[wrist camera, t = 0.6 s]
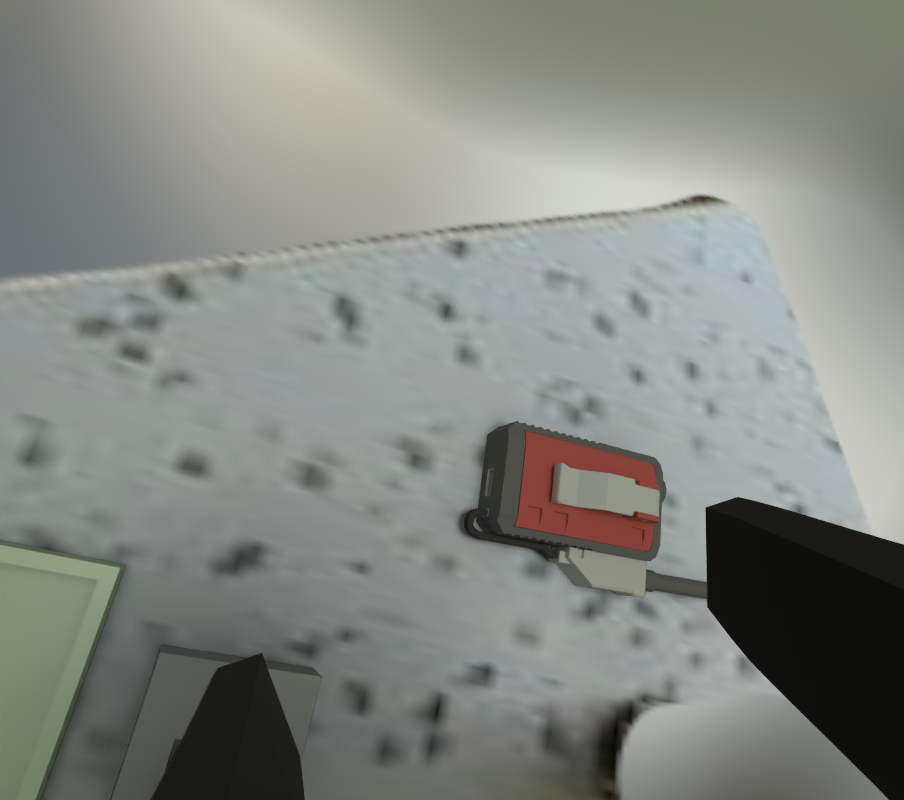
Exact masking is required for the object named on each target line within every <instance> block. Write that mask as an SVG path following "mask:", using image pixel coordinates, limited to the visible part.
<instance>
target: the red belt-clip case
mask: <svg viewBox="0 0 904 800" xmlns="http://www.w3.org/2000/svg"><path fill="white" fill-rule="evenodd" d="M665 495H666V486H665V482H664V481H663V472H662V469H661V465H660V463H659V462H658V461H657V459H656V458H655V457H651V456H647V455H643V454H640V453H636V452H632V451H628V450H624V449H621V448H617V447H613V446H609V445H606V444H602V443H598V444H597V443H595V442H594V441H591V442H589V441H588V440H587V439H584V440H582V439H581V438H579V437H577V438H574V437H573V436H572V435H570V436H566V434H564V433H562V434H559V433H558V432H556V431H555V432H551V431H550V430H549V429H547V430H544V429H543V428H541V427H539V428H536V427H535V426H534V425H531V426H529V425H527V424H526V423H522V424H521V423H519V422H518V421H516V422H513V423H510V424H507V425H504V426H501V427H498V428H497V429H495V430H494V431H492V432H491V433H490V434H488V435H487V442H486V450H485V458H484V466H483V473H482V481H481V489H480V497H479V505H478V509H473V510H470V511H469V512H468V513H467V514H466V517H465V519H464V522H463V524H464V529H465V530H466V532H467V533H468V534H469V535H470V536H472V537H474V538H476V539H481V540H487V541H492V542H498V543H504V544H510V545H515V546H521V547H526V548H531V549H535V550H538V551H540V552H541V553H542V554H543V555H544V556H546V557H548V558H549V560H548V561H550V562H555V563H556V564H557V565H558V566H559V568H560V569H561V570H562V571H563V572H564V573H565V575H566V576H567V577H568V578H569V579H570V580H571V582H572V583H574V584H575V585H579V586H585V587H591V588H597V589H603V590H609V591H614V592H615V593H616V594H618V595H626V596H634V597H641V598H643V597H644V596H645V591H648V592H652V591H654V590H657V591H663V592H669V593H675V594H681V595H687V596H694V597H700V598H706V599H707V582H701V581H695V580H689V579H683V578H677V577H672V576H666V575H660V574H656V573H655V572H653V571H652V570H646V561H651V560H652V559H654V558H655V557H656V556H657V553H658V550H659V547H660V540H661V509H662V502H663V500H664V498H665ZM476 516H477V521H476V522H477V523H478V525H479V526H480V528H481V529H482V531H483V532H484V533H483V532H480V531H478V530H477V529H476V528H475V527H474V525H473V522H474V519H475V517H476ZM546 545H547V546H554V547H551V550H550V549H549V548H548V547H547V546H546Z"/></svg>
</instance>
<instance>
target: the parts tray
mask: <svg viewBox="0 0 904 800" xmlns="http://www.w3.org/2000/svg"><path fill="white" fill-rule="evenodd" d="M125 566H126V565H124V564H119V563H114V562H109V561H104V560H99V559H93V558H88V557H83V556H78V555H73V554H68V553H63V552H57V551H52V550H47V549H42V548H37V547H32V546H27V545H21V544H16V543H11V542H6V541H1V540H0V800H40V799H41V797H42V794H43V791H44V788H45V786H46V783H47V780H48V777H49V775H50V772H51V769H52V766H53V764H54V761H55V758H56V756H57V753H58V750H59V747H60V745H61V742H62V739H63V736H64V734H65V731H66V728H67V725H68V723H69V720H70V717H71V714H72V712H73V709H74V706H75V703H76V701H77V698H78V695H79V692H80V690H81V687H82V684H83V681H84V679H85V676H86V673H87V670H88V668H89V665H90V662H91V659H92V657H93V654H94V651H95V648H96V646H97V643H98V640H99V637H100V635H101V632H102V629H103V626H104V624H105V621H106V618H107V615H108V613H109V610H110V607H111V604H112V602H113V599H114V596H115V593H116V591H117V588H118V585H119V582H120V580H121V577H122V574H123V571H124V569H125Z"/></svg>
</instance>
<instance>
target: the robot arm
mask: <svg viewBox="0 0 904 800" xmlns="http://www.w3.org/2000/svg"><path fill="white" fill-rule="evenodd" d="M706 553H707V607H708V608H709V610H710V611H711V612H712V614H713V615H714V616H715V618H716V619H717V620H718V622H719V623H720V624H721V625H722V627H723V628H724V629H725V631H726V632H727V633H728V635H729V636H730V637H731V638H732V640H733V641H734V642H735V643H736V644H737V646H738V647H739V648H740V649H741V651H742V652H743V653H744V654H745V655H746V657H747V658H748V659H749V660H750V661H751V662H752V663H753V664H754V665H755V667H756V668H757V669H758V670H759V671H760V672H761V673H762V674H763V675H764V676H765V677H766V678H767V679H768V680H769V681H770V682H771V683H772V684H773V685H774V686H775V687H776V688H777V689H778V690H779V691H780V692H781V693H782V694H783V695H784V696H785V697H786V698H787V699H788V700H789V701H790V702H791V703H792V704H793V705H794V706H795V707H796V708H797V709H798V710H799V711H800V712H801V713H802V714H803V715H804V716H805V717H806V718H807V719H808V720H809V721H810V722H811V723H813V725H815V726H816V727H817V728H818V729H819V730H820V731H821V732H822V733H823V734H824V735H825V736H826V737H827V738H828V739H829V740H830V741H831V742H832V743H833V744H834V745H835V746H836V747H837V748H838V749H839V750H840V751H841V752H842V753H843V754H844V755H845V756H846V757H847V758H848V759H849V760H850V761H851V762H852V763H853V764H854V765H855V766H856V767H857V768H858V769H859V770H860V771H861V772H862V773H863V774H864V775H865V776H866V777H867V778H868V779H869V780H871V782H872V783H873V784H874V785H875V786H876V787H877V788H878V789H879V790H880V791H881V792H882V793H883V794H884V795H885V796H886V797H887V798H888V799H889V800H904V545H903V544H899V543H895V542H892V541H889V540H886V539H882V538H879V537H875V536H872V535H869V534H865V533H862V532H859V531H855V530H852V529H849V528H845V527H842V526H839V525H835V524H832V523H829V522H825V521H822V520H819V519H816V518H812V517H809V516H806V515H802V514H799V513H796V512H792V511H789V510H785V509H782V508H778V507H775V506H771V505H768V504H764V503H760V502H756V501H752V500H748V499H744V498H739V497H736V498H733V499H730V500H727V501H724V502H721V503H718V504H715V505H712V506H709V507H706ZM150 800H305V798H304V788H303V779H302V769H301V760H300V754H299V752H298V749H297V746H296V744H295V741H294V738H293V736H292V733H291V730H290V727H289V725H288V722H287V719H286V717H285V714H284V711H283V708H282V706H281V703H280V700H279V698H278V695H277V692H276V689H275V687H274V684H273V681H272V679H271V676H270V673H269V671H268V668H267V665H266V662H265V660H264V657H263V654H262V653H261V654H258V655H255V656H252V657H249V658H246V659H243V660H240V661H237V662H234V663H231V664H228V665H225V666H222V667H219V668H217V670H216V672H215V673H214V675H213V676H212V678H211V680H210V682H209V684H208V686H207V688H206V690H205V692H204V694H203V697H202V699H201V701H200V703H199V705H198V707H197V709H196V711H195V713H194V715H193V717H192V719H191V721H190V723H189V725H188V727H187V730H186V732H185V734H184V736H183V738H182V740H181V742H180V744H179V746H178V748H177V750H176V752H175V753H174V755H173V757H172V759H171V761H170V763H169V765H168V767H167V769H166V771H165V773H164V775H163V777H162V779H161V781H160V782H159V784H158V786H157V788H156V790H155V792H154V794H153V796H152V798H151V799H150Z"/></svg>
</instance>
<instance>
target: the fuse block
mask: <svg viewBox="0 0 904 800" xmlns="http://www.w3.org/2000/svg"><path fill="white" fill-rule="evenodd" d="M243 659H246V658H244V657H237V656H231V655H225V654H218V653H212V652H205V651H199V650H192V649H186V648H179V647H173V646H166V645H161V647H160V650H159V653H158V656H157V659H156V662H155V665H154V668H153V671H152V674H151V677H150V680H149V683H148V686H147V689H146V692H145V695H144V698H143V701H142V704H141V707H140V710H139V713H138V716H137V719H136V722H135V725H134V728H133V731H132V735H131V738H130V741H129V744H128V747H127V750H126V753H125V756H124V759H123V762H122V765H121V768H120V771H119V774H118V777H117V780H116V783H115V786H114V789H113V792H112V795H111V798H110V800H150V799H151V798H152V796H153V794H154V792H155V790H156V788H157V786H158V784H159V782H160V781H161V779H162V777H163V775H164V772H165V769H166V766H167V763H168V759H169V756H170V753H171V750H172V747H173V743H174V740H175V739H181V740H182V738H183V736H184V734H185V732H186V730H187V727H188V725H189V723H190V721H191V719H192V717H193V715H194V713H195V711H196V709H197V707H198V705H199V703H200V701H201V699H202V697H203V694H204V692H205V690H206V688H207V686H208V684H209V682H210V680H211V678H212V676H213V675H214V673H215V672H216V670H217V668H219V667H222V666H225V665H228V664H231V663H234V662H237V661H240V660H243ZM265 662H266V665H267V668H268V671H269V673H270V676H271V679H272V681H273V684H274V687H275V689H276V692H277V695H278V698H279V700H280V703H281V706H282V708H283V711H284V714H285V717H286V719H287V722H288V725H289V727H290V730H291V733H292V736H293V738H294V741H295V744H296V746H297V749H298V752H299V754H300V760H301V759H302V755H303V751H304V747H305V743H306V739H307V735H308V731H309V727H310V723H311V719H312V715H313V711H314V707H315V703H316V699H317V695H318V691H319V687H320V683H321V679H322V676H321V675H320V674H319V673H318V672H317V671H315V670H314V669H313V668H309V667H302V666H296V665H289V664H283V663H276V662H270V661H265Z"/></svg>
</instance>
